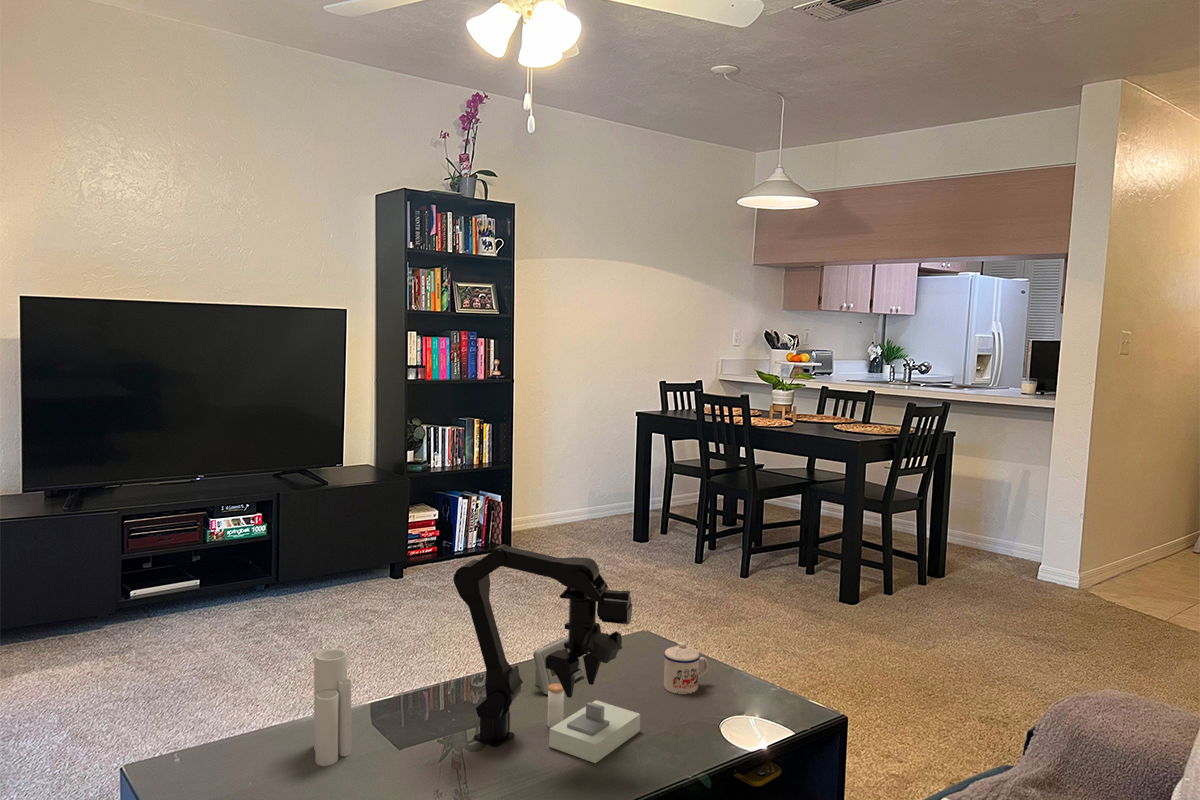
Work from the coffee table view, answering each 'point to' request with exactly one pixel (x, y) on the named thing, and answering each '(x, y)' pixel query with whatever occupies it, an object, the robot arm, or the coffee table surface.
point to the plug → (555, 704)
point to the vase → (331, 707)
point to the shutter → (590, 720)
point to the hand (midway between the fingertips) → (580, 690)
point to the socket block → (601, 743)
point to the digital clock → (547, 675)
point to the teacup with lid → (682, 669)
